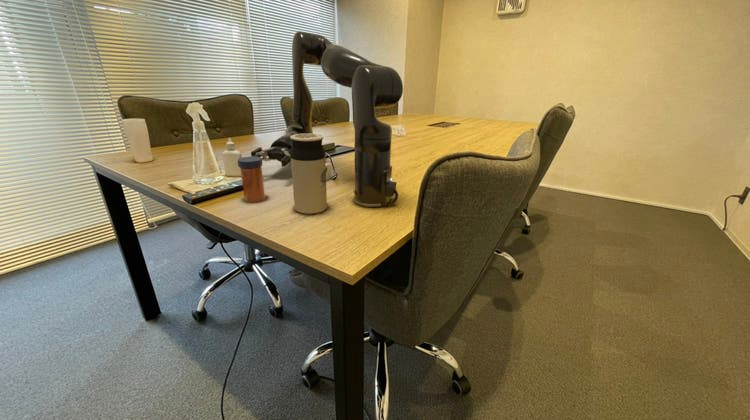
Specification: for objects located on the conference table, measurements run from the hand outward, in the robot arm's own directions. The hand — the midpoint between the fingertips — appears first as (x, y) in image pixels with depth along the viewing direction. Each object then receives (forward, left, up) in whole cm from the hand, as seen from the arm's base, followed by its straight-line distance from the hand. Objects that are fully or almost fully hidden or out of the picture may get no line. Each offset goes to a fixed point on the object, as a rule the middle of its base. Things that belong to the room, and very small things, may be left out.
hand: (268, 162), depth 88 cm
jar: (-2, +11, -7) cm, 13 cm away
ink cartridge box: (-11, -9, -7) cm, 16 cm away
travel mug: (-19, +12, -7) cm, 23 cm away
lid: (-2, +11, +3) cm, 11 cm away
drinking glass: (+59, -8, -7) cm, 60 cm away
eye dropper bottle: (+17, -5, -7) cm, 19 cm away
